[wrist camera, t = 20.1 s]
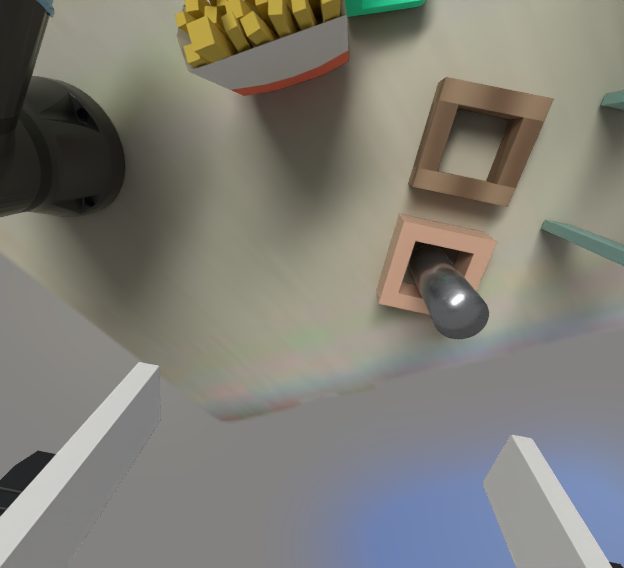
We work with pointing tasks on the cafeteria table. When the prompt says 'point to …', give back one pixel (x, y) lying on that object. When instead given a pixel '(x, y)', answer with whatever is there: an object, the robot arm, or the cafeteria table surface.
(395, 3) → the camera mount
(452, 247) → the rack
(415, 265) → the metal cylinder
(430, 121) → the socket block
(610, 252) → the teal green arch
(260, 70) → the french fries container
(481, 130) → the cafeteria table surface
